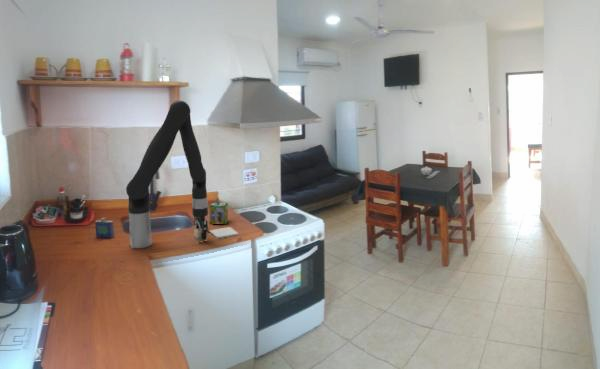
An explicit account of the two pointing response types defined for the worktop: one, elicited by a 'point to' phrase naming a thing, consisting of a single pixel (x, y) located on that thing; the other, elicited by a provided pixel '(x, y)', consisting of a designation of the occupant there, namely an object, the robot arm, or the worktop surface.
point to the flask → (104, 229)
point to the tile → (223, 232)
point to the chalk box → (218, 212)
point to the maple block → (198, 235)
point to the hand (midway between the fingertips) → (201, 236)
